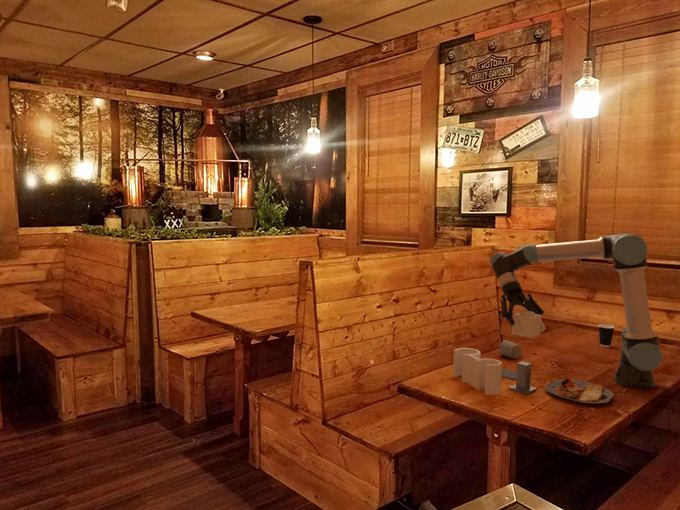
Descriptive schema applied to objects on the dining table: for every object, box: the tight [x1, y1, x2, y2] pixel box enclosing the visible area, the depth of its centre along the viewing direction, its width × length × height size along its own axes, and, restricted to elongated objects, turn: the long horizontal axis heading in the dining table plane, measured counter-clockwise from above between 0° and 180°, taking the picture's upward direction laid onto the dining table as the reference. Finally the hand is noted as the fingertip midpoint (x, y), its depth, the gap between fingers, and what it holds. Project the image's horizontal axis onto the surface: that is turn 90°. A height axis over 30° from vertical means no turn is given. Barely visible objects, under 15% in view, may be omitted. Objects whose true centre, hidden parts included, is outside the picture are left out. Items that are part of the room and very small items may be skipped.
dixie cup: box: [597, 323, 616, 348], centre depth 280 cm, size 8×8×11 cm
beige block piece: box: [511, 310, 543, 339], centre depth 208 cm, size 8×8×9 cm
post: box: [508, 360, 538, 395], centre depth 210 cm, size 8×8×11 cm
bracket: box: [452, 347, 503, 396], centre depth 215 cm, size 25×10×12 cm, turn 20°
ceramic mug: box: [498, 339, 523, 360], centre depth 257 cm, size 11×8×8 cm
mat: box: [501, 368, 517, 381], centre depth 229 cm, size 10×10×1 cm
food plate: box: [545, 378, 615, 405], centre depth 206 cm, size 25×23×4 cm
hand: (530, 330), depth 205 cm, fingers closed on beige block piece, 11 cm apart
